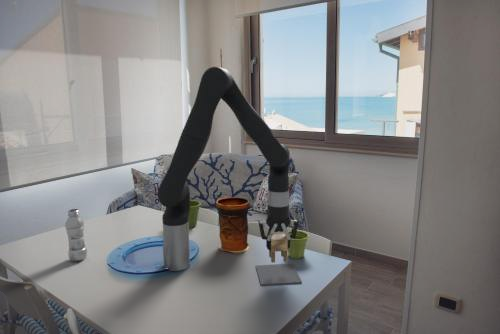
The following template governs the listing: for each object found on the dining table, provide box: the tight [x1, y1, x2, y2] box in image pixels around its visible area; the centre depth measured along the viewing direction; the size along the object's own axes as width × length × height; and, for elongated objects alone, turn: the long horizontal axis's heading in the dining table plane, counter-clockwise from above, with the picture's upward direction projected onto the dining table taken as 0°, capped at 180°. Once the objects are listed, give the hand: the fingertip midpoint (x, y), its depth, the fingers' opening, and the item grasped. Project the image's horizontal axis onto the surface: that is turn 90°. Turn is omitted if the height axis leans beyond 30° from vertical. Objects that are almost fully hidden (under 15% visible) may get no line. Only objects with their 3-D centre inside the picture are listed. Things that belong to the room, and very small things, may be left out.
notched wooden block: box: [268, 233, 288, 263], centre depth 131 cm, size 6×6×8 cm
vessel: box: [215, 196, 251, 254], centre depth 156 cm, size 14×14×20 cm
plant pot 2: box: [287, 230, 310, 259], centre depth 148 cm, size 9×9×9 cm
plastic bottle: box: [64, 208, 88, 262], centre depth 144 cm, size 6×7×20 cm
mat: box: [255, 263, 303, 286], centre depth 133 cm, size 14×14×1 cm
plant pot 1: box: [188, 199, 202, 229], centre depth 182 cm, size 12×12×11 cm
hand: (278, 249), depth 131 cm, fingers closed on notched wooden block, 5 cm apart
